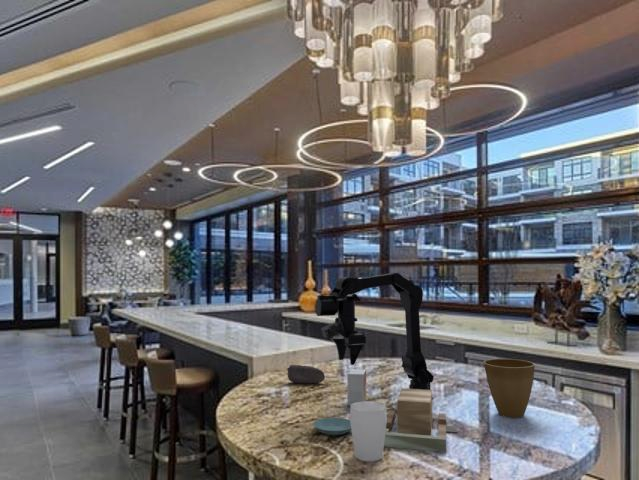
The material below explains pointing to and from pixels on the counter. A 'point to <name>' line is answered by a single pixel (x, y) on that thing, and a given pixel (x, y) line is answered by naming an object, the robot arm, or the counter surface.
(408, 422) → the walnut block
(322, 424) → the saucer
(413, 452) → the counter surface
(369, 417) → the cup
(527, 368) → the plant pot
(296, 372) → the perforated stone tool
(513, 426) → the counter surface
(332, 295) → the robot arm
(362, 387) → the small box
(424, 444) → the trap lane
